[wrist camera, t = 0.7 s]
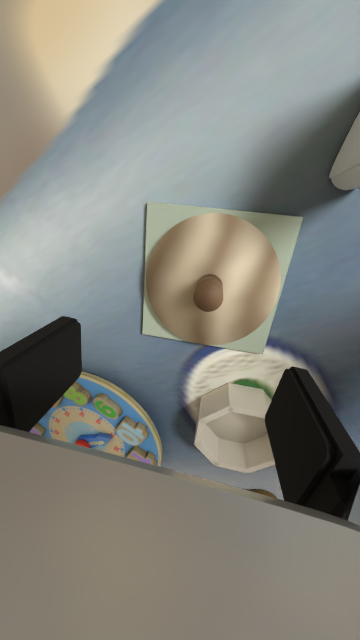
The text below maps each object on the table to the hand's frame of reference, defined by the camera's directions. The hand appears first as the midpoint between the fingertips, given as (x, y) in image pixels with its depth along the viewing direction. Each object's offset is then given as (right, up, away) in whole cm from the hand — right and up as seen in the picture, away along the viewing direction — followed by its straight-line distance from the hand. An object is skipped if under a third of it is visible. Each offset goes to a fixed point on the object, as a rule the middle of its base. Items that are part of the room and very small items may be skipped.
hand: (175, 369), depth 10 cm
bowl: (+10, -14, +28) cm, 33 cm away
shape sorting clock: (-18, -20, +35) cm, 44 cm away
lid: (+4, +7, +19) cm, 21 cm away
